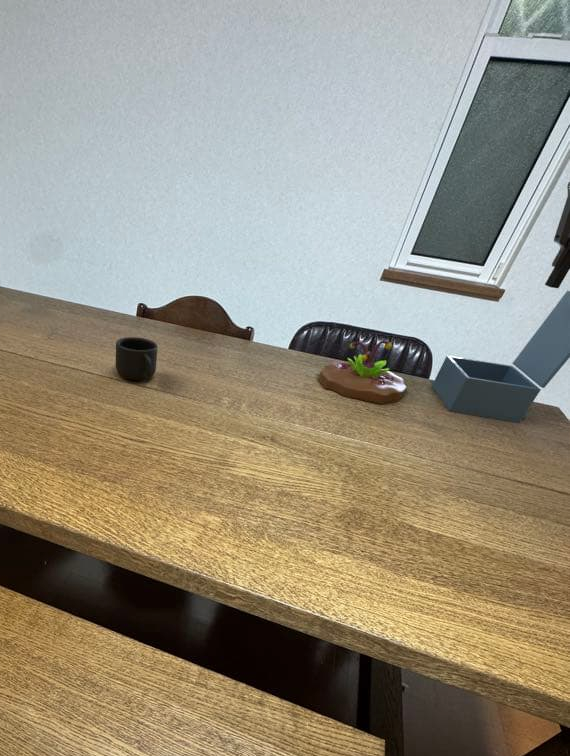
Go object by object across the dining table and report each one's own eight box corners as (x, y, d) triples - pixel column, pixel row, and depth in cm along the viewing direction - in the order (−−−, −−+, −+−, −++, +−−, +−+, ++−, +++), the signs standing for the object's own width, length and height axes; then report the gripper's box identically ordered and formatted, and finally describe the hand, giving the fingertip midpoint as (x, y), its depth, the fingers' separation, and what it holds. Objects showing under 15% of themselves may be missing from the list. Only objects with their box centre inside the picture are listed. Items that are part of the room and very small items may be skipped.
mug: (109, 370, 103) (109, 337, 98) (145, 367, 106) (147, 336, 102) (129, 391, 95) (130, 357, 90) (167, 387, 98) (170, 354, 94)
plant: (394, 411, 101) (417, 360, 93) (310, 386, 107) (326, 337, 100) (408, 386, 114) (429, 340, 107) (333, 365, 121) (348, 320, 114)
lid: (606, 307, 87) (631, 314, 87) (567, 290, 99) (588, 297, 99) (540, 387, 97) (562, 394, 98) (512, 363, 109) (531, 369, 109)
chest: (449, 411, 104) (467, 377, 99) (431, 386, 116) (446, 355, 111) (519, 422, 103) (541, 389, 98) (494, 396, 115) (512, 365, 110)
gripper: (611, 126, 75) (525, 285, 90) (695, 135, 74) (594, 294, 89) (587, 129, 81) (510, 279, 96) (665, 137, 79) (575, 287, 95)
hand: (551, 286), depth 92 cm, fingers closed
